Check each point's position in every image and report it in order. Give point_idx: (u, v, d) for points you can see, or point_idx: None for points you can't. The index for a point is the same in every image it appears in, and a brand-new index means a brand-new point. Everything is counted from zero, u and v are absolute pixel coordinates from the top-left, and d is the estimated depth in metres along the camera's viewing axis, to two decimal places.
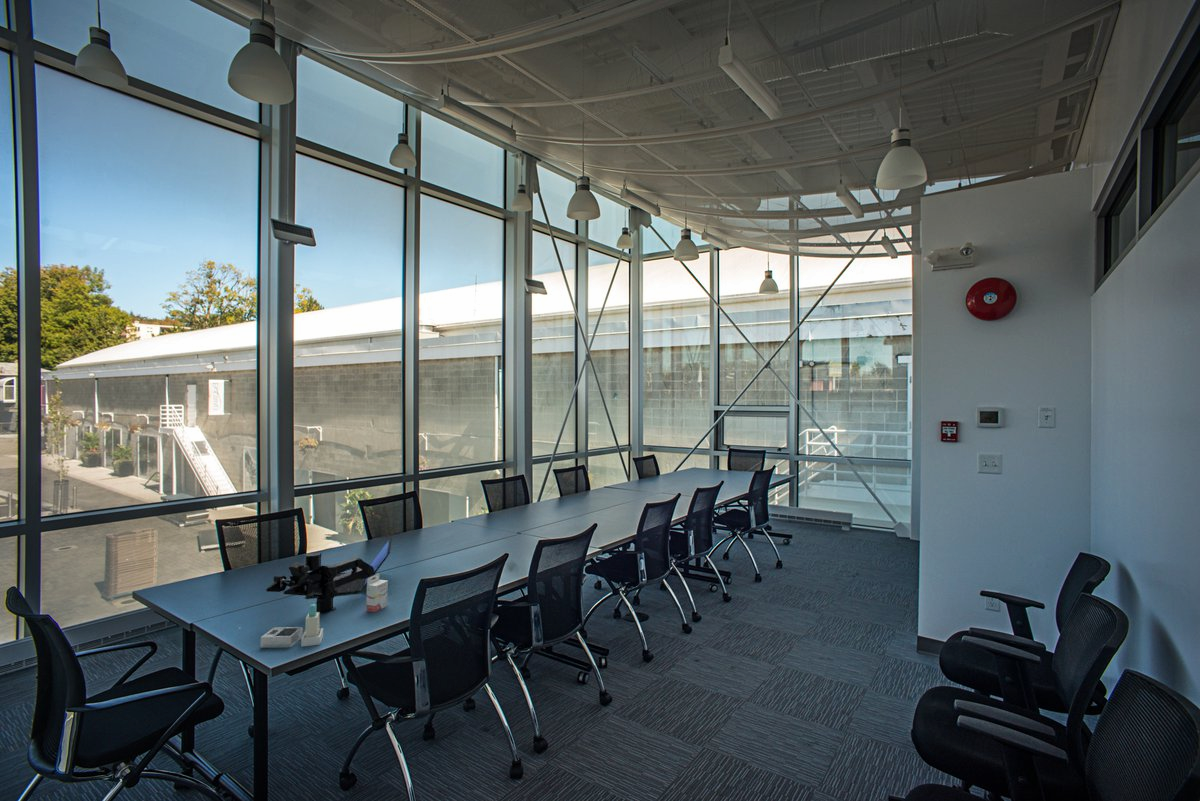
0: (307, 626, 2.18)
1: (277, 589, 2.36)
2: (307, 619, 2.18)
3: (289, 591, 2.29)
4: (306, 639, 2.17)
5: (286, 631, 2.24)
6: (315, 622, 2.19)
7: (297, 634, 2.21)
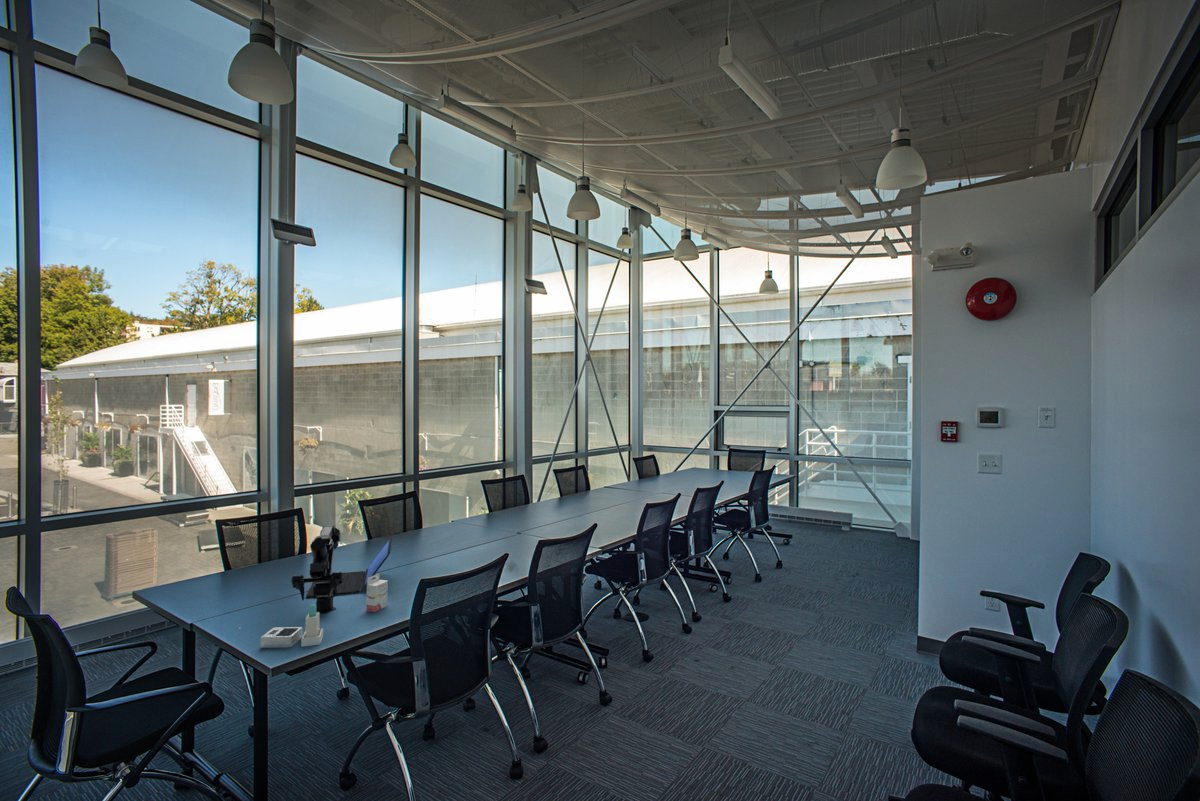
0: (307, 626, 2.18)
1: None
2: (307, 619, 2.18)
3: (330, 593, 2.32)
4: (306, 639, 2.17)
5: (286, 631, 2.24)
6: (315, 622, 2.19)
7: (297, 634, 2.21)
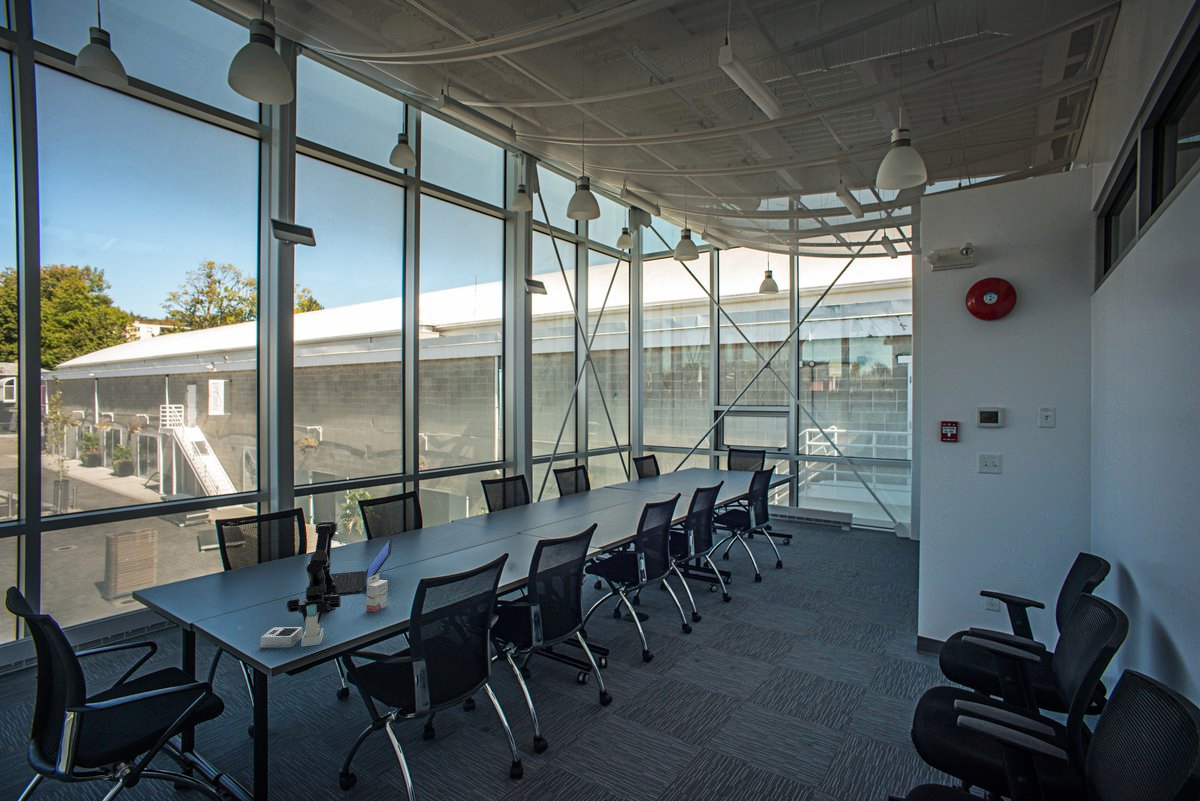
0: (307, 626, 2.18)
1: (306, 613, 2.24)
2: (307, 619, 2.18)
3: (320, 618, 2.22)
4: (306, 639, 2.17)
5: (286, 631, 2.24)
6: (315, 622, 2.19)
7: (297, 634, 2.21)
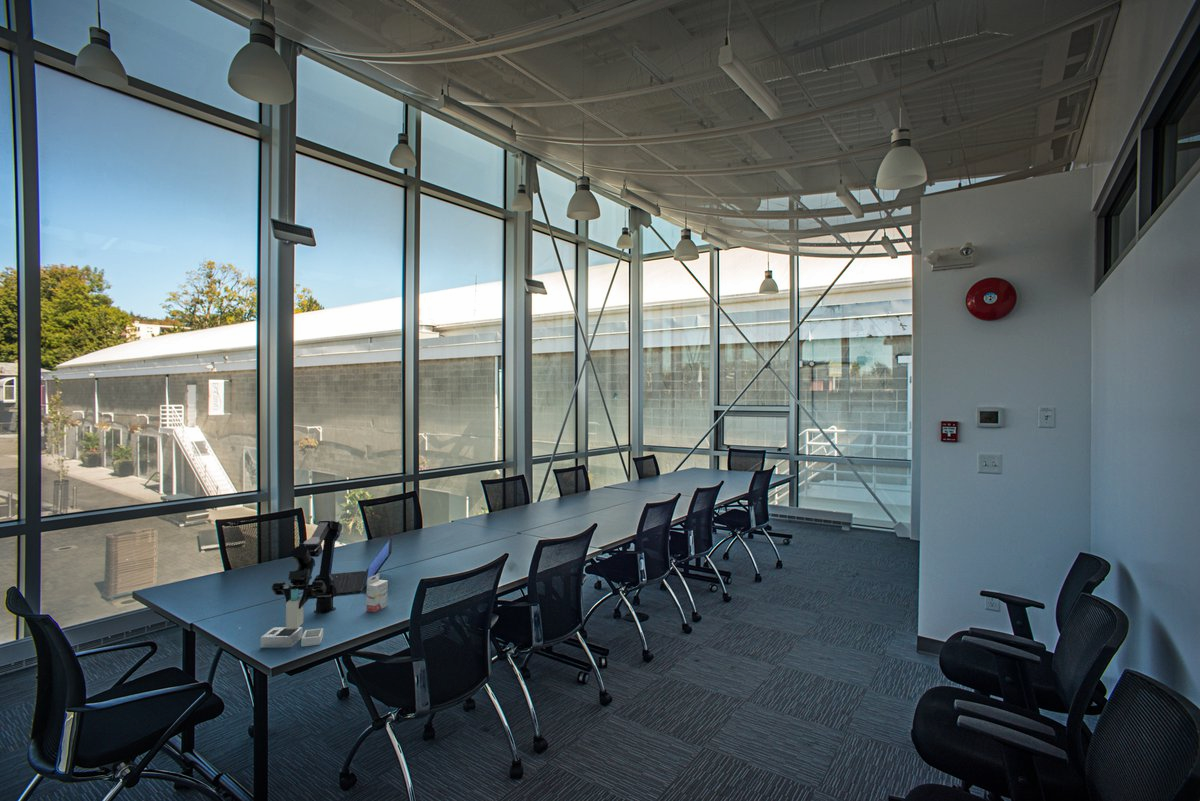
0: (287, 610, 2.17)
1: None
2: (288, 604, 2.17)
3: (302, 603, 2.20)
4: (306, 639, 2.17)
5: (286, 631, 2.24)
6: (295, 607, 2.17)
7: (297, 634, 2.21)
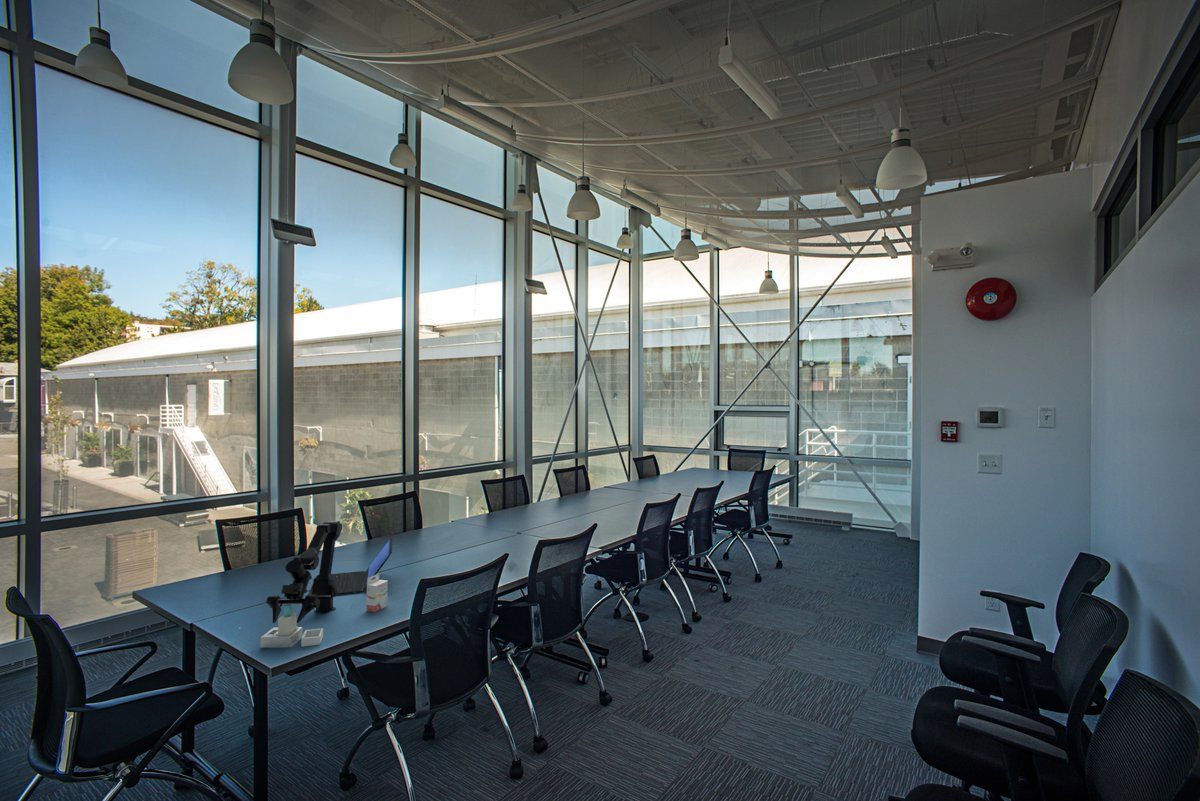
0: (279, 626, 2.17)
1: (279, 611, 2.23)
2: (280, 620, 2.17)
3: (301, 617, 2.20)
4: (306, 639, 2.17)
5: None
6: (287, 623, 2.17)
7: (297, 634, 2.21)
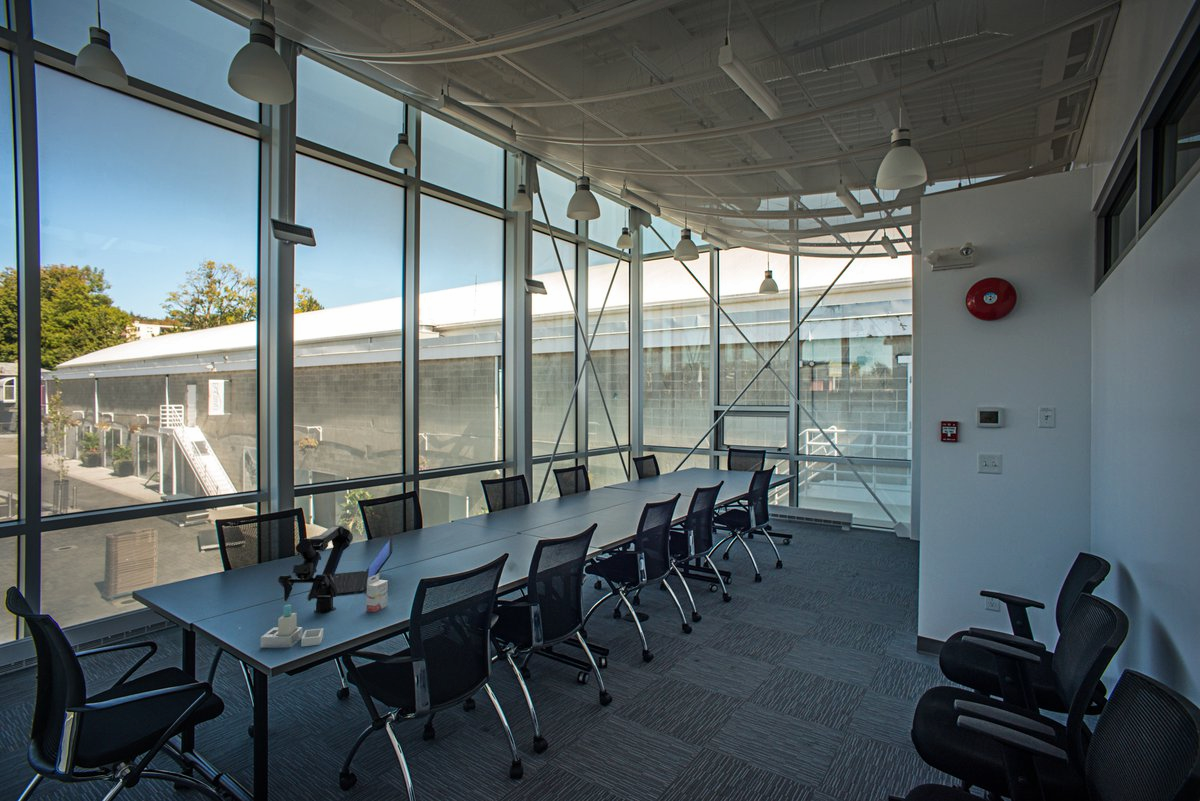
0: (279, 626, 2.17)
1: (290, 589, 2.33)
2: (280, 620, 2.17)
3: (312, 595, 2.30)
4: (306, 639, 2.17)
5: None
6: (287, 623, 2.17)
7: (297, 634, 2.21)
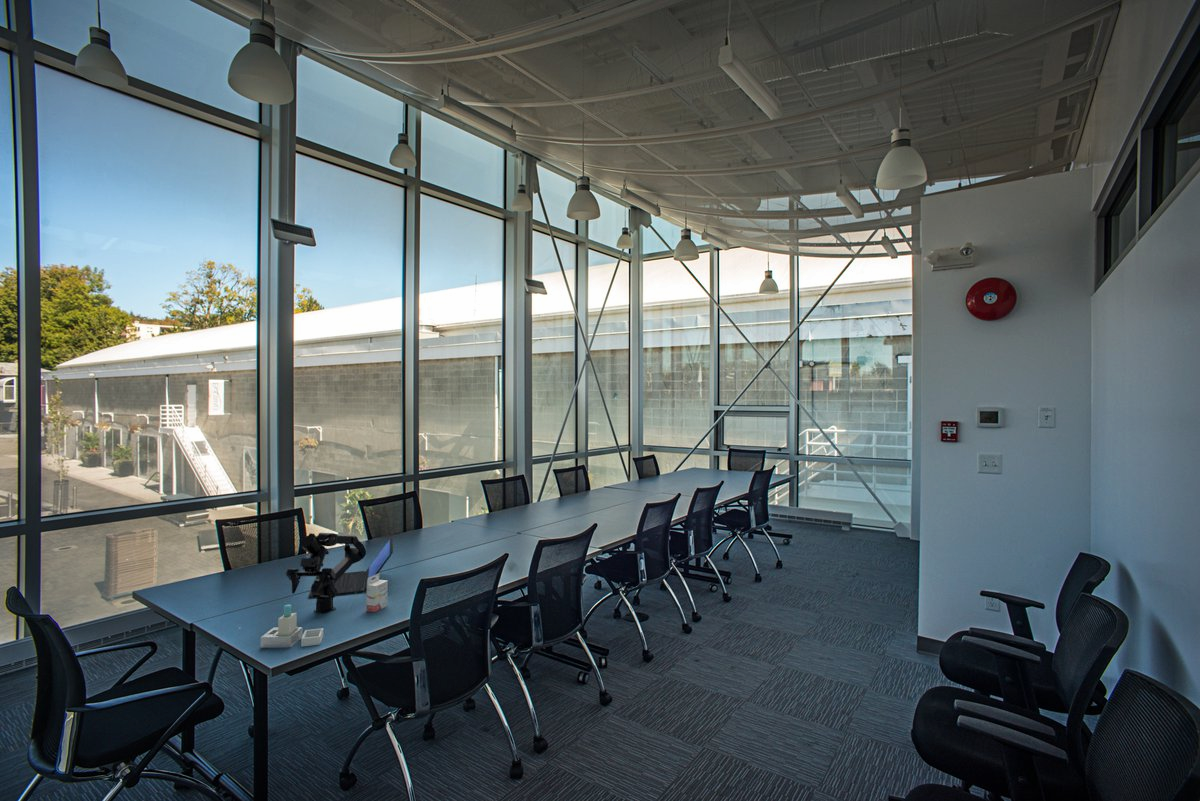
0: (279, 626, 2.17)
1: (297, 582, 2.40)
2: (280, 620, 2.17)
3: (318, 588, 2.37)
4: (306, 639, 2.17)
5: None
6: (287, 623, 2.17)
7: (297, 634, 2.21)
